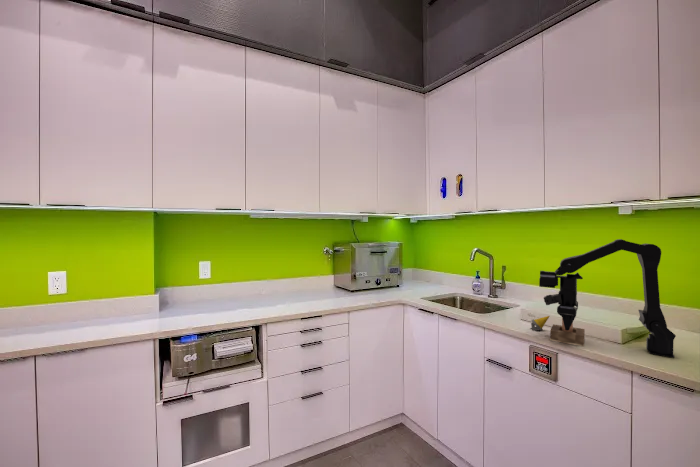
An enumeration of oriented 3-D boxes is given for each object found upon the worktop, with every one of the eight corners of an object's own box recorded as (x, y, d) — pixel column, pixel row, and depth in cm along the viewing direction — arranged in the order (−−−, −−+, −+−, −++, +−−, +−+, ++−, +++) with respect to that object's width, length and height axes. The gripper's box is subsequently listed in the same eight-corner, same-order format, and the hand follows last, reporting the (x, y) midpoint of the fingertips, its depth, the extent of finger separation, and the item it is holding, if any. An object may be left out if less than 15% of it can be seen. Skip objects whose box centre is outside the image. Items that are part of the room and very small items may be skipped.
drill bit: (531, 328, 150) (549, 314, 147) (537, 336, 145) (556, 323, 142) (524, 322, 149) (542, 308, 145) (530, 330, 144) (549, 316, 141)
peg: (573, 337, 133) (572, 315, 133) (572, 340, 130) (572, 317, 130) (562, 336, 135) (562, 314, 135) (561, 338, 133) (561, 316, 133)
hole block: (584, 338, 134) (584, 329, 134) (583, 346, 125) (583, 336, 125) (553, 333, 141) (553, 324, 141) (550, 340, 132) (550, 330, 132)
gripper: (547, 284, 145) (547, 319, 145) (542, 290, 130) (541, 329, 130) (578, 286, 138) (577, 323, 139) (576, 293, 123) (575, 334, 124)
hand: (567, 327), depth 133 cm, fingers open, 9 cm apart
